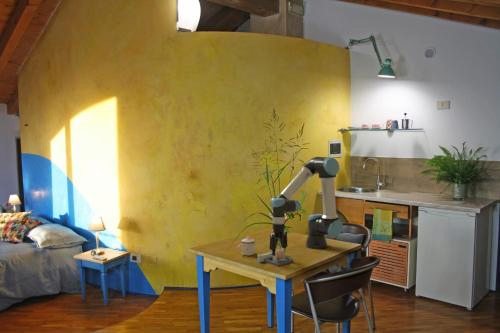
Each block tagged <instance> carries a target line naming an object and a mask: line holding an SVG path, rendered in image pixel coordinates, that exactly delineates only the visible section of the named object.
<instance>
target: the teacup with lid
mask: <svg viewBox="0 0 500 333" xmlns="http://www.w3.org/2000/svg"><path fill="white" fill-rule="evenodd" d="M255 240H256V239H253V238H251V237H250V236H249V235H247V236H246V238H244V239H241V243H240V244H238V246H237V249H238V251H239V252H241V254H242V255H243V256H253V255H255V249H256V246H255V245H256V244H255V242H256V241H255ZM240 247H241V249H240Z"/></svg>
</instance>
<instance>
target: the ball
mask: <svg viewBox="0 0 500 333" xmlns="http://www.w3.org/2000/svg"><path fill="white" fill-rule="evenodd" d="M276 251H277V260H281V259H282V258H283V257H284V253H283V251H281V249H276Z"/></svg>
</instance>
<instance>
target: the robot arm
mask: <svg viewBox="0 0 500 333" xmlns="http://www.w3.org/2000/svg"><path fill="white" fill-rule="evenodd" d="M339 171H340V163H339V161H338V159H336V158H334V157H331V156H330V157H329V156H314V157H312V158H310V159H309V160H308V161H306V163H304V164H303V165H302V166H301V168H300V171H299V172H298V173H297V174H296V175H295V177H294V178H292V180H291V181H290V182H289V183H288V185H287V186H285V187H284V189H283V190H282V191H281V192H280V193H279V194H278V195H277V196H275V197H272V198H270V201H269V202H270V203H269V204H270V206H271V207H272V230H273V231H272V233H269V250H270V251H271V252H272V255H273V260H274V261H277V251H276V250H277V246H278V241H279V243H280V245H281V247H280V250H281V251H283V253H284V257H283V259H285V257H286V255H285V254H286V249H287V247H288V231H287V230H285V228H286V225H285V224H286V221H285V220H286V219H285V217H286V216H285V215H286V214H287V213H295V212H298V211H300V209H301V202H300V201H299V200H298V199H292V198H293V197H294V196H295V195H296V193H297V192H298V191H299V190H300V189H301V188H302V186H304V185H305V183H306V182H307V181H308V180H309V179H310V178H313V176H314V175H316V174H318V179H320V183H321V198H322V199H321V200H322V201H321V202H322V213H316V214H310V215H308V220H307V224H308V225H307V226H308V228H307V229H308V230H307V231H308V233H307V238H306V241H305V247H306V248H308V249H316V250H321V249H322V250H323V249H326V248H328V242H327V238H326V236H329V237H333V238H334V237H335V238H336V237H338V236H339V235H340V234H341V233H342V231H343V227H344V226H343V222H342V221H341V220H340V218H339V214H337V207H336V192H335V191H336V190H335V179H336V178H337V174H338V173H339Z"/></svg>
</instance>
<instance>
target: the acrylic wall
mask: <svg viewBox="0 0 500 333" xmlns="http://www.w3.org/2000/svg"><path fill="white" fill-rule="evenodd" d="M271 257H273V255H272V251H271V252H267V253H263V254H257V256H256V258H257V263H263V262H264V259H267V258H271Z"/></svg>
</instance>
